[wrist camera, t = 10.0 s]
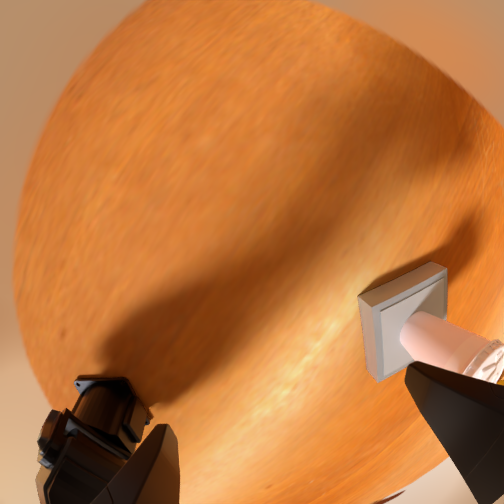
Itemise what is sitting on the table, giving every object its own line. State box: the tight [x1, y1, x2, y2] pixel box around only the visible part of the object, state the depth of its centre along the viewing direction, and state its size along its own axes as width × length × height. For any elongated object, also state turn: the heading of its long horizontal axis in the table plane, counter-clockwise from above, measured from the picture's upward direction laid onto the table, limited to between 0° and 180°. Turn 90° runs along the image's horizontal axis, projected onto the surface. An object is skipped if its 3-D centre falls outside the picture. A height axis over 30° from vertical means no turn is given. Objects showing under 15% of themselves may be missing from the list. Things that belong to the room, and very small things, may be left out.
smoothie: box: [400, 311, 504, 384], centre depth 14 cm, size 6×6×14 cm
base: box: [358, 261, 447, 383], centre depth 22 cm, size 9×9×3 cm
